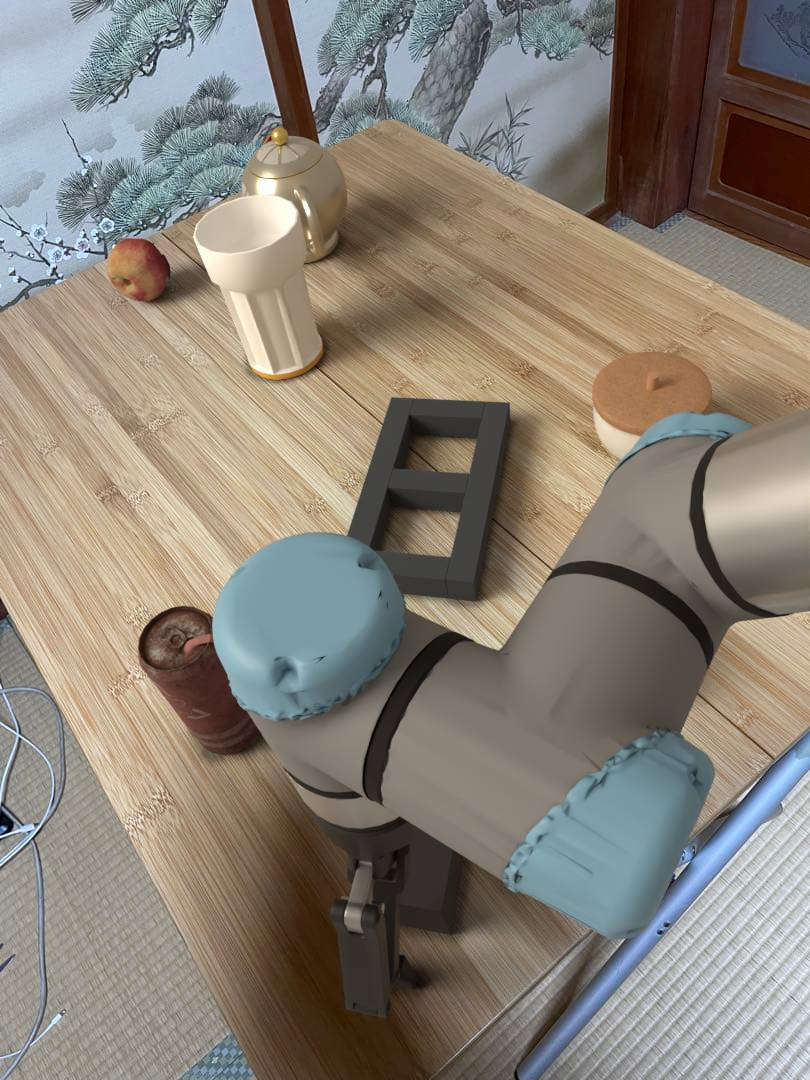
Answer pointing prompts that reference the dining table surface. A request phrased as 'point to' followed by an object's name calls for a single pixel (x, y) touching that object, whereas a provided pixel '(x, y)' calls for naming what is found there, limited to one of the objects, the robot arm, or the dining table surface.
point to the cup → (263, 281)
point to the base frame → (435, 491)
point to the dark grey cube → (431, 886)
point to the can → (195, 679)
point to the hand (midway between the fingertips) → (415, 882)
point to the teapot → (301, 186)
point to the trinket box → (644, 396)
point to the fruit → (138, 269)
